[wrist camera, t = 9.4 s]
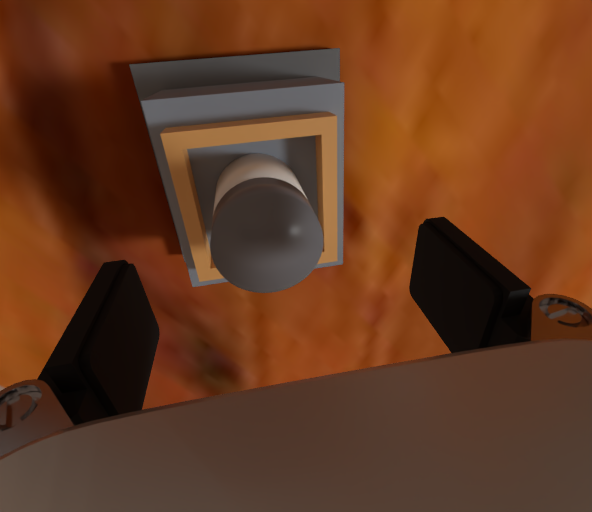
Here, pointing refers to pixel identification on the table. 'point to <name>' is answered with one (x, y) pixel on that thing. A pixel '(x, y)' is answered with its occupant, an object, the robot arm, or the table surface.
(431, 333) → the table surface
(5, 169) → the table surface
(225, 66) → the grey square peg holder
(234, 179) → the gray and white capsule
